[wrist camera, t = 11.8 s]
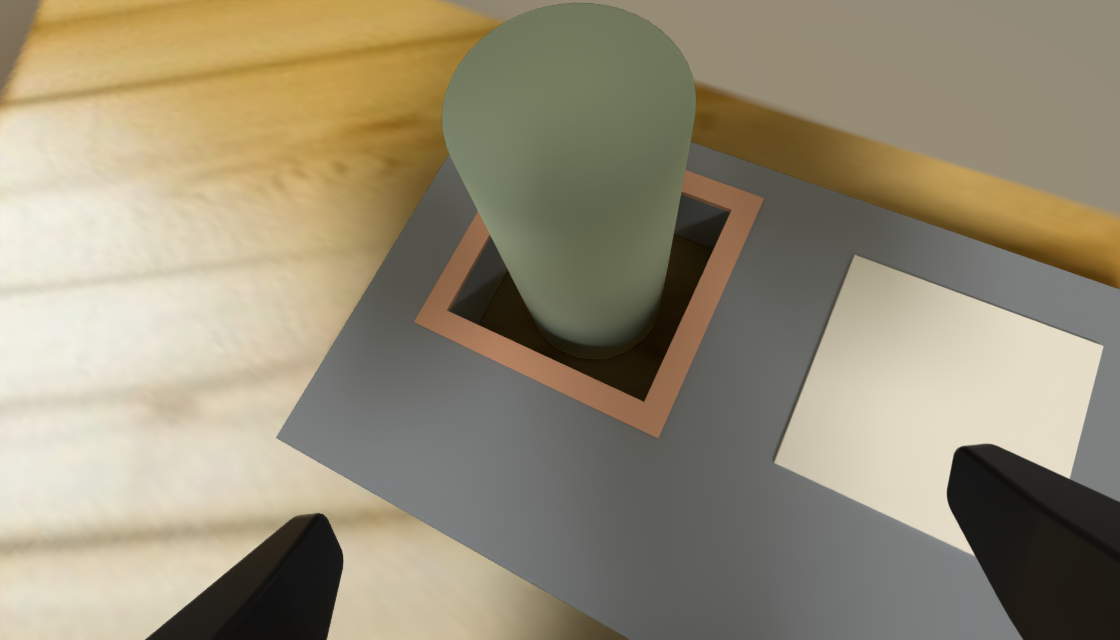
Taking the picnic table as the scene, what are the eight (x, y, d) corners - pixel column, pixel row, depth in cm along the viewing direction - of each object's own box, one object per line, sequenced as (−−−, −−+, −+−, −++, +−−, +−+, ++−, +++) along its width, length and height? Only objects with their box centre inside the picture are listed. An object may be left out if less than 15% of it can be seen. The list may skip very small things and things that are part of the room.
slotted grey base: (323, 446, 21) (272, 437, 18) (511, 125, 24) (496, 72, 21) (1026, 840, 15) (1122, 921, 12) (1140, 354, 19) (1238, 327, 16)
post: (600, 387, 20) (575, 269, 10) (502, 302, 22) (392, 122, 11) (688, 287, 21) (750, 82, 11) (589, 212, 23) (558, -34, 12)
